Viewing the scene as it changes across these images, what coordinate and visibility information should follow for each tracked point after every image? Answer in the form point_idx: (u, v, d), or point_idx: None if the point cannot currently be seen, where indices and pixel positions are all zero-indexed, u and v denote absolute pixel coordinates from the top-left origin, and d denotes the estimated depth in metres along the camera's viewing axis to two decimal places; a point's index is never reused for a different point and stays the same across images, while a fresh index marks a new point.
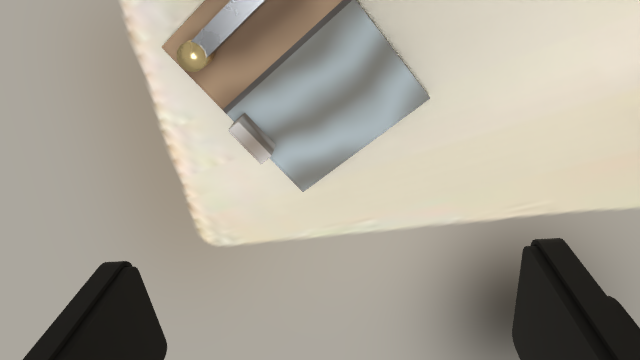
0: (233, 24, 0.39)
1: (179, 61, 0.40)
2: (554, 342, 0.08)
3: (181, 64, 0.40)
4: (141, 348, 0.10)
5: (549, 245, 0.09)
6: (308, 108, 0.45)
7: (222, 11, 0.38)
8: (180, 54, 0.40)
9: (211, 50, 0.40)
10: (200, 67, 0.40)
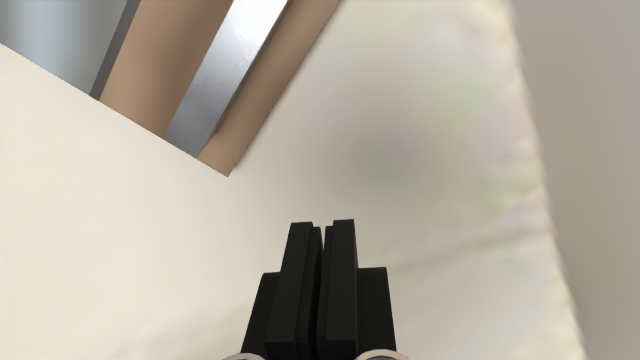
0: (239, 9, 0.19)
1: None
2: None
3: None
4: None
5: (339, 224, 0.10)
6: None
7: (266, 29, 0.19)
8: None
9: None
10: None
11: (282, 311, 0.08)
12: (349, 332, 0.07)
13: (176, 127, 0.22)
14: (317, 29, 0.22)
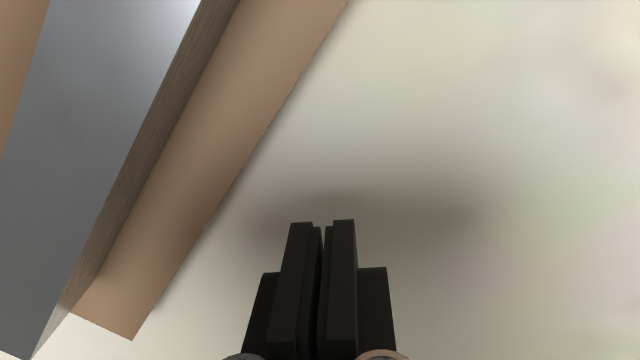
0: (54, 68, 0.07)
1: None
2: None
3: None
4: None
5: (339, 224, 0.10)
6: None
7: (134, 117, 0.07)
8: None
9: None
10: None
11: (282, 311, 0.08)
12: (349, 332, 0.07)
13: None
14: (282, 91, 0.10)
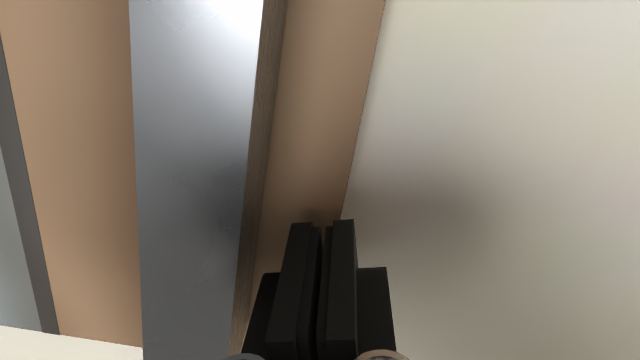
0: (155, 130, 0.07)
1: None
2: None
3: None
4: None
5: (339, 224, 0.10)
6: None
7: (239, 147, 0.07)
8: None
9: None
10: None
11: (282, 311, 0.08)
12: (349, 332, 0.07)
13: None
14: (362, 72, 0.10)
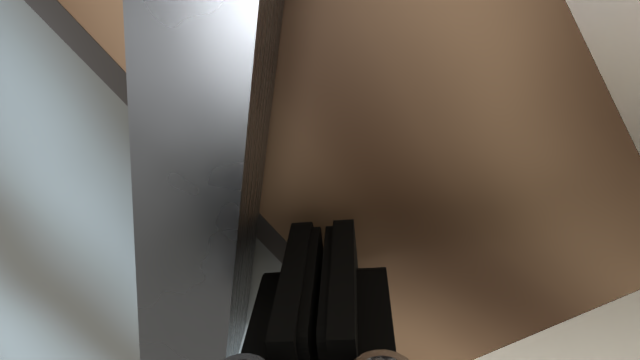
0: (151, 129, 0.07)
1: None
2: None
3: None
4: None
5: (339, 224, 0.10)
6: (66, 259, 0.13)
7: (235, 147, 0.07)
8: None
9: None
10: None
11: (282, 311, 0.08)
12: (349, 332, 0.07)
13: None
14: None
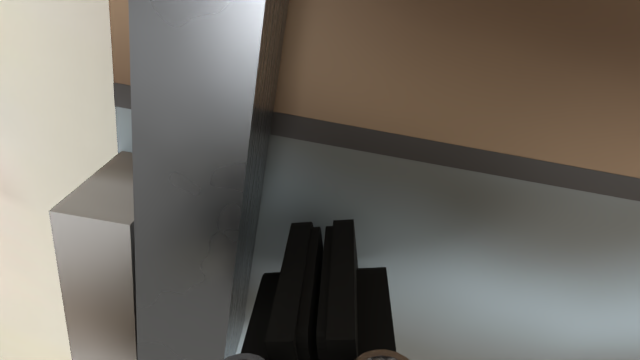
0: (153, 128, 0.07)
1: None
2: None
3: None
4: None
5: (339, 224, 0.10)
6: None
7: (238, 147, 0.07)
8: None
9: None
10: None
11: (282, 311, 0.08)
12: (349, 332, 0.07)
13: None
14: None
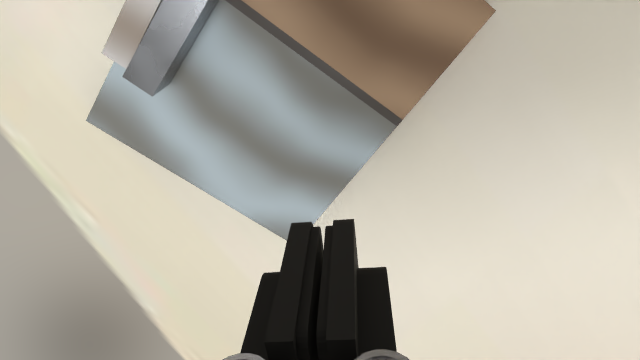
0: None
1: None
2: None
3: None
4: None
5: (339, 224, 0.10)
6: (227, 99, 0.29)
7: None
8: None
9: None
10: None
11: (282, 311, 0.08)
12: (349, 332, 0.07)
13: (134, 68, 0.25)
14: None
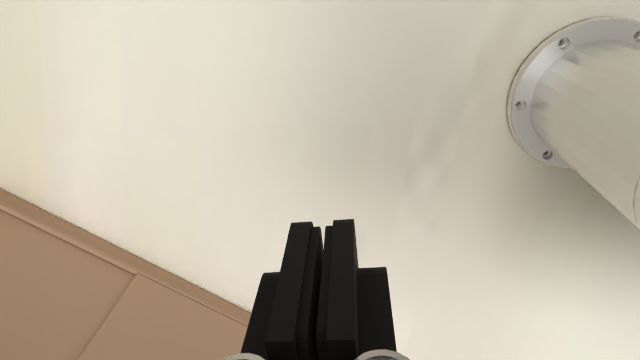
0: None
1: None
2: None
3: None
4: None
5: (339, 224, 0.10)
6: None
7: None
8: None
9: None
10: None
11: (282, 311, 0.08)
12: (349, 332, 0.07)
13: None
14: None
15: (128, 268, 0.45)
